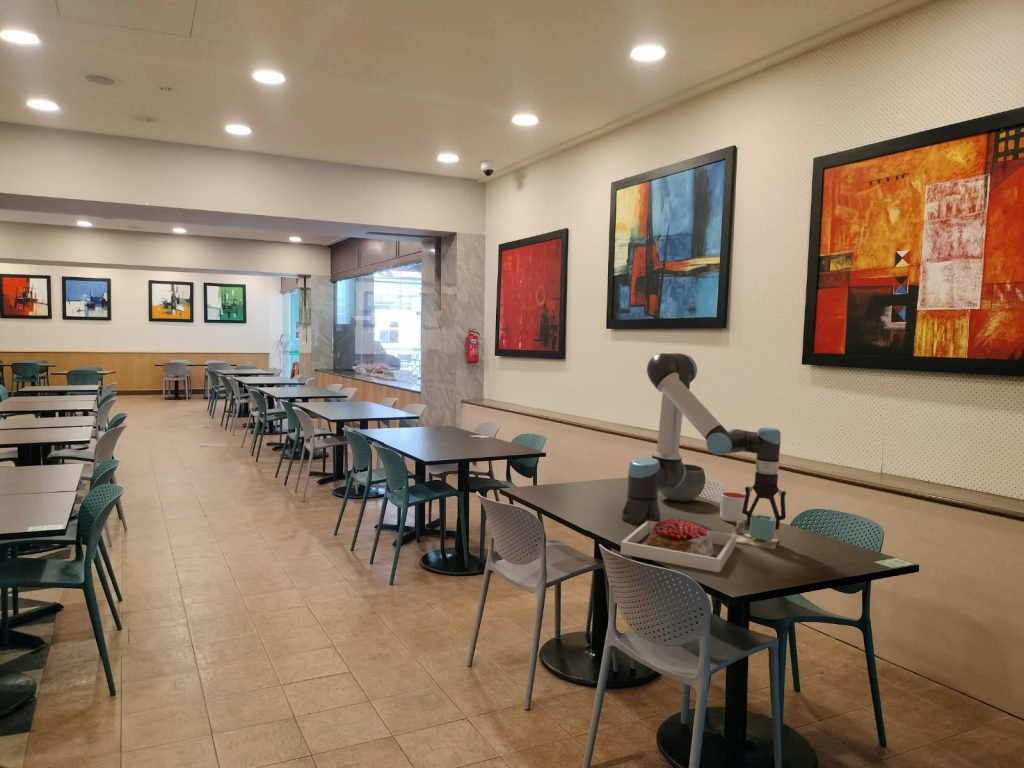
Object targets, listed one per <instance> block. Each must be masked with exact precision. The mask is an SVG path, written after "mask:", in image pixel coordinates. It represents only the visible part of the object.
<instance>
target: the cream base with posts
mask: <svg viewBox="0 0 1024 768" xmlns="http://www.w3.org/2000/svg"><path fill="white" fill-rule="evenodd" d="M761 519H766V518H761ZM745 528H746V522H745V521H744V522H742V521H737V523H736V529H735V531H732V532H731V533H730V534H733V535H736V544H740V545H746V546H751V547H758V548H762V549H763V548H764V549H769V550H774V549H775V550H776V547H777V544H778V542H779V538H775V539H772V541H769V540H762V539H756V538H750V537H751V535H749V533H748V534H747V533H745Z"/></svg>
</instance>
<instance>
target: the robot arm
mask: <svg viewBox="0 0 1024 768" xmlns="http://www.w3.org/2000/svg"><path fill="white" fill-rule="evenodd" d="M697 366H698V365H697V364H696V362H695V360H694V359H693V357H691V356H690V355H688V354H685V353H680V352H679V353H677V352H676V353H674V352H673V353H663V352H661V353H657V354H656V355H654V356H653V357H651V358H650V359H649V361H648V364H647V367H646V372H647V376H648V379H649V380H650V382H651V384H652V385H653V386H654V388H655V389H657V391H658V392H659V393H661V394H662V395H661V402H660V403H661V406H660V415H659V416H660V417H659V424H658V432H657V433H658V434H657V443H656V450H655V451H654V452H652V454H651V457H639V458H634V459H632V460H631V461H630V462H629V465H628V470H627V474H628V475H627V493H626V500H625V503H624V506H623V507H622V510H621V516H620V518H621V519H622V520H623V521H624V522H627V523H632V524H636V525H642V524H644V523H645V522H646V521H647V520H648V521H654V522H659V521H661V520H662V514H661V510H660V506H659V502H658V498H659V497H658V496H659V492H660V491H659V490H664V489H672V488H674V487H677V486H679V485H680V484H681V483H682V482H683V481H684V479H685V476H686V469H685V466H684V462H683V461H682V460H683V459H682V458H683V457H682V456H681V454H680V453H679V451H680V441H681V434H682V433H681V432H682V424H683V415H684V418H686V419H687V420H688V422H690V424H692V426H693V427H694V428H695V429H696V430H697V432H699V434H700V435H701V436H702V437H703V438H704V439H705V441H706V446H707V450H708V451H709V452H710V453H711V454H713V455H717V456H719V455H722V456H725V455H727V454H734V453H735V454H736V453H741V452H742V453H743V452H744V453H750V454H751V453H752V454H756V460H755V470H756V472H755V474H754V484H753V485H746V486H745V489H744V491H745V494H744V495H745V501H744V506H743V511H742V513H743V514H745V515H746V525H747V526H749V532H748V534H749V535H751V523H752V517H753V516H754V515H752V514H753V513H754V511H755V509H756V507H757V504H758V502H759V501H760V499H767V500H769V502H770V504H771V508H772V512H773V514H774V517H775V519H774V521H773V535H772V539H776V534H777V530H779V529H780V523H781V521H782V520H785V519H786V515H787V513H786V495H787V491H786V490H782V489H779V487H778V482H779V481H778V479H779V478H778V477H779V474H778V473H779V470H780V469H779V468H780V449H781V444H782V441H781V438H782V436H781V431H780V430H779V429H778V428H772V427H759V429H758V431H757V432H756V431H748V430H743V429H739V428H738V429H735V428H731V429H729V430H727V429H726V428H725V427H724V426H723V425H722V424H721V422H719V420H717V418H716V417H715V416H714V415H713V414H712V413H711V412H710V411H709V410H708V409H707V407H705V405H704V404H703V403H702V402H701V401H700V399H698V397H696V396H695V395H694V393H693V392H692V391H691V390H690V387H691V383H692V382H693V381H694V380H695V379H696V377H697V374H698V368H697ZM753 491H754V493H755V494H756V496H755V498H754V500H753V503H752V504H751V506H750V509H749V510H748V507H749V501H750V496H751V493H752V492H753ZM777 493H778V496H779V498H780V501H779V502H780V512H779V509H778V506H777V504H776V500H775V499H776V498H775V495H776V494H777Z"/></svg>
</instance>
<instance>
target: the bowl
mask: <svg viewBox="0 0 1024 768" xmlns="http://www.w3.org/2000/svg"><path fill="white" fill-rule="evenodd" d="M683 464H684V463H683ZM684 466H685V469H686V476H685V479H684V481H683V482H682V483H681V484H680V485H679V486H677V487H674V488H672V489H664V490H659V491H658V492H660V493H661V495H662V496H664V497H665V498H666V499H668V500H670V501H673V502H681V503H682V502H690V501H693V500H695V499H696V498H698V497H699V496H700V495H701V494H702V492H703V491H704V489H705V488H704V487H705V485H706V473H705V470H704V468H703V467H702V466H700V465H695V464H684Z"/></svg>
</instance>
